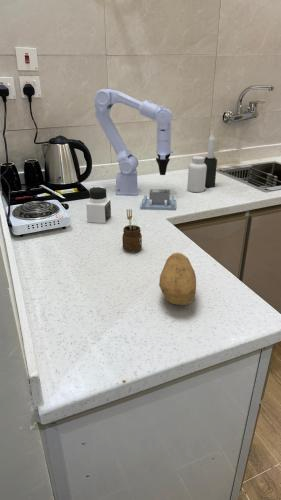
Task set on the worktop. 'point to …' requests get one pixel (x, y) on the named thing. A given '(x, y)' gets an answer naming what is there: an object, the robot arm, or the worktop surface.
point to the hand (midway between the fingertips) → (163, 172)
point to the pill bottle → (197, 174)
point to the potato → (178, 280)
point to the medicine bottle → (98, 206)
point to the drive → (159, 196)
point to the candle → (210, 163)
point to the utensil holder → (131, 236)
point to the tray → (148, 205)
